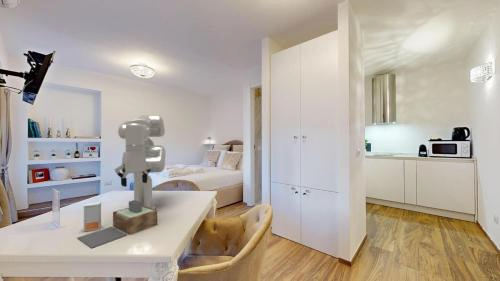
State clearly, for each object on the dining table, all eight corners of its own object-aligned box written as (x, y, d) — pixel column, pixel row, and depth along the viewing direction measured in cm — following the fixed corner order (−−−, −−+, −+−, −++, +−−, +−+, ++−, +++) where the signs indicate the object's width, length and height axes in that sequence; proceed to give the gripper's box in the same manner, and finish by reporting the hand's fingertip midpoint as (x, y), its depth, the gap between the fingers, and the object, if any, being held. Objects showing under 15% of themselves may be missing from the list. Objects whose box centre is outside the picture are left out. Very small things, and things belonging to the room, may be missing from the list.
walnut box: (129, 234, 91) (129, 218, 91) (113, 226, 100) (112, 212, 100) (157, 224, 102) (157, 210, 102) (139, 217, 111) (139, 204, 111)
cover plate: (130, 219, 92) (130, 207, 92) (116, 214, 100) (116, 202, 100) (153, 212, 102) (153, 201, 102) (139, 207, 109) (139, 197, 109)
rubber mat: (77, 238, 88) (77, 237, 88) (111, 227, 99) (111, 226, 99) (91, 248, 80) (91, 247, 80) (127, 235, 90) (127, 234, 90)
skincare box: (83, 232, 94) (83, 205, 94) (85, 228, 98) (85, 203, 98) (99, 229, 97) (99, 203, 97) (101, 226, 101) (101, 201, 100)
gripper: (147, 148, 110) (147, 180, 110) (111, 149, 95) (111, 186, 95) (155, 148, 106) (155, 182, 105) (119, 149, 91) (119, 188, 91)
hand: (134, 184), depth 100 cm, fingers open, 9 cm apart
